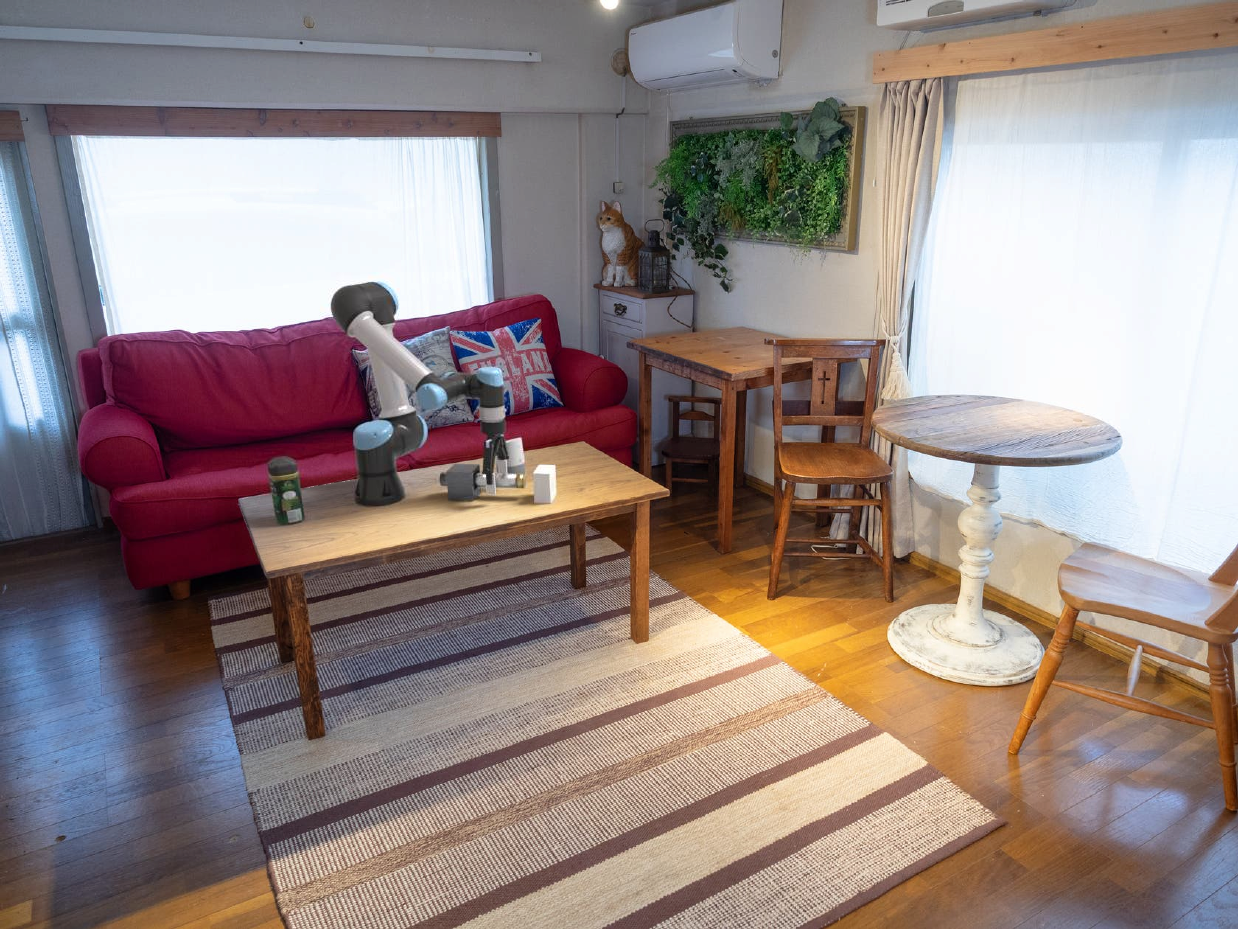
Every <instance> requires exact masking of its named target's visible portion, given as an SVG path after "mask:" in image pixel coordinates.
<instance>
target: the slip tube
mask: <svg viewBox="0 0 1238 929" xmlns="http://www.w3.org/2000/svg"><path fill="white" fill-rule="evenodd" d="M494 473H495V472H494ZM473 482H474V487H481V488H486V479H485V474H482V472H480V473H474V474H473ZM526 483H527V476H526V473H525V474H506V473H497V472H496V473H495V486H496V488H498V489H525V487H526ZM439 485H440V486H441V487H447V478H446V471H440V474H439Z"/></svg>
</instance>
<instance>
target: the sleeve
mask: <svg viewBox="0 0 1238 929" xmlns="http://www.w3.org/2000/svg"><path fill="white" fill-rule="evenodd" d="M480 466H481V465H480V464H479V463H478V464H475V463H474V464H473V463H454V464H452V466H450V467H449V468H448V469H447V470H446V471H445V472H446V478H447V486H446V488H447V500H448V502H450V501H452V502H453V501H455V502H475V500H476V499H477V498H478V497H479V496H480V495H481V494H482V487H474V482H473V474H474V473H481V467H480Z"/></svg>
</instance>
